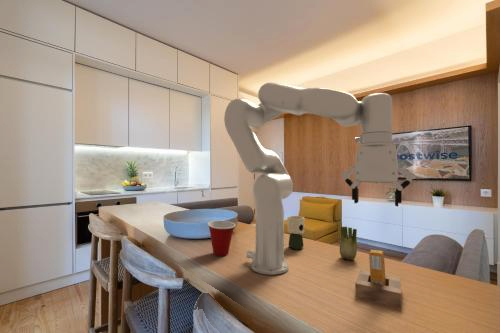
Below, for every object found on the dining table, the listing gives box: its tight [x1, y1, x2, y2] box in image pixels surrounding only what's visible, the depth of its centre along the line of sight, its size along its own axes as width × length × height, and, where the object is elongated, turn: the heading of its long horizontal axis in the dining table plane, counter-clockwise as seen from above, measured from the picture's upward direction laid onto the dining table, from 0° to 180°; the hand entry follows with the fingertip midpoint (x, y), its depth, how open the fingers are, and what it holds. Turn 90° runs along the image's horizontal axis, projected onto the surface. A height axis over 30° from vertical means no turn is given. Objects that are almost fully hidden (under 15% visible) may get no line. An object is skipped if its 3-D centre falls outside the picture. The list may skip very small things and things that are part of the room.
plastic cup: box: [207, 220, 236, 257], centre depth 93 cm, size 11×11×12 cm
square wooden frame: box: [354, 269, 402, 309], centre depth 63 cm, size 10×10×4 cm
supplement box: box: [368, 249, 386, 286], centre depth 64 cm, size 3×3×10 cm
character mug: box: [287, 215, 306, 250], centre depth 102 cm, size 11×7×13 cm, turn 150°
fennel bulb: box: [339, 226, 358, 261], centre depth 89 cm, size 6×5×12 cm
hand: (375, 204), depth 64 cm, fingers open, 9 cm apart
